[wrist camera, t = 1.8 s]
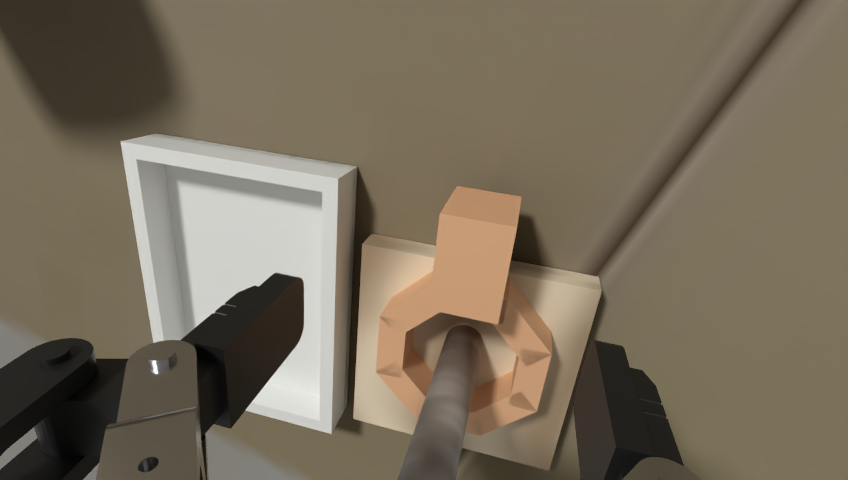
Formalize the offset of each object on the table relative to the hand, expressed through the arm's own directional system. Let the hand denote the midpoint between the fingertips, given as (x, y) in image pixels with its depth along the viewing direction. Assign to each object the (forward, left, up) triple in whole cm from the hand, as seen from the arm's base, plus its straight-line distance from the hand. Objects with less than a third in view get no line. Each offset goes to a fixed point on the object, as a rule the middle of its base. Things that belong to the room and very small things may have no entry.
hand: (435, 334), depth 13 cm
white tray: (+13, +7, -12) cm, 19 cm away
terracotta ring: (0, +5, -10) cm, 11 cm away
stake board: (0, +9, -12) cm, 15 cm away
